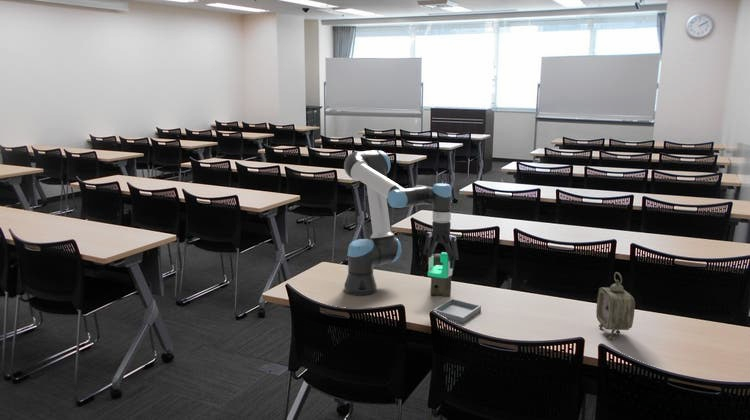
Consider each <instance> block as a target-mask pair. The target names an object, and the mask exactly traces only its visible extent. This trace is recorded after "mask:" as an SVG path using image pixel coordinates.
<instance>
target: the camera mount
mask: <svg viewBox="0 0 750 420" xmlns="http://www.w3.org/2000/svg"><path fill="white" fill-rule="evenodd" d="M440 254H441V256H440V261H441V262H442V263H443V266H441V265H435V266H434V267H433V268H432V269H430V270H429V269H428V271H427V277H439V278H448V277H449V276H447V273H448V261H449V257H448V255H447V252H446V251H442V252H441V253H440ZM453 271H454V268H452V272H453Z"/></svg>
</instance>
